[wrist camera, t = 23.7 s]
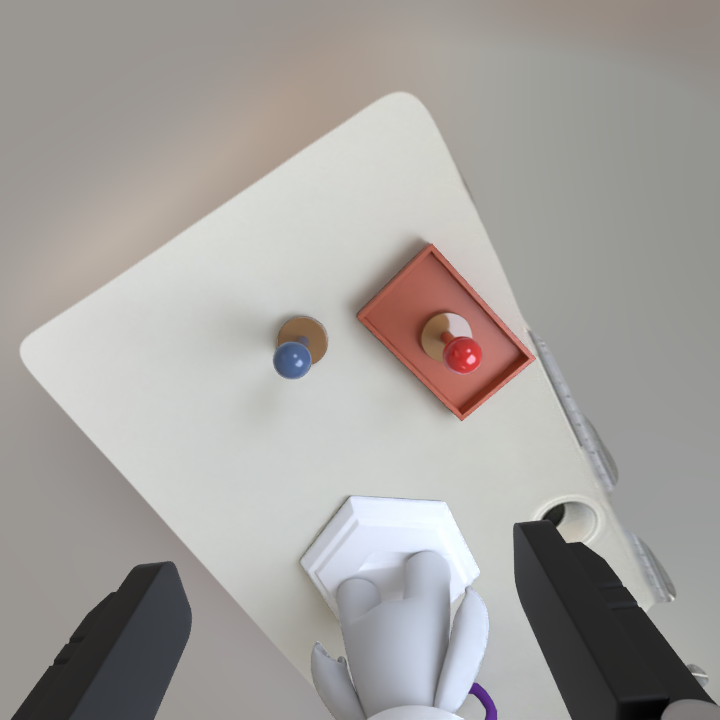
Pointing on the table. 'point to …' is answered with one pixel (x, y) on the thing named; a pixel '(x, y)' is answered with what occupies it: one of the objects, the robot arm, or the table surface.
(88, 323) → the table surface
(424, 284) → the red tray
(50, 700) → the robot arm
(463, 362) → the arcade joystick
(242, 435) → the table surface
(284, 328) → the blue joystick
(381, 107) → the table surface
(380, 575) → the white toy figurine
